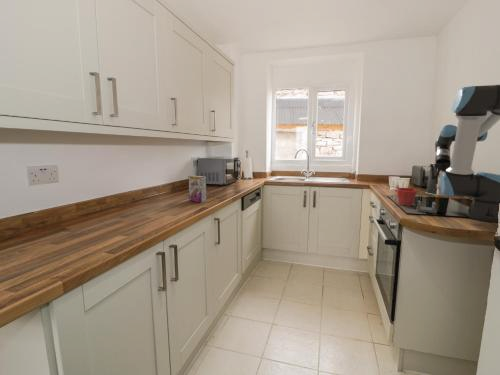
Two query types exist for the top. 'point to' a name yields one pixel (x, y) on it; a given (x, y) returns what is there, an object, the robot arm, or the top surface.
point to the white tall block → (439, 187)
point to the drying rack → (426, 208)
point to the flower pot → (406, 196)
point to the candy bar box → (197, 188)
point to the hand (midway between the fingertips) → (443, 188)
